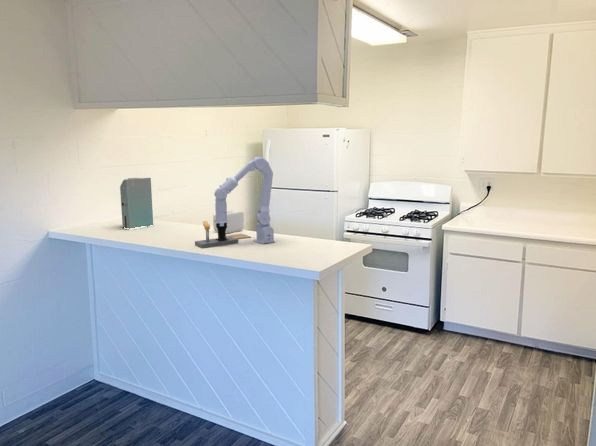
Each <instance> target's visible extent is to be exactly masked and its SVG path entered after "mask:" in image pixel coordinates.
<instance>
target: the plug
mask: <svg viewBox="0 0 596 446" xmlns="http://www.w3.org/2000/svg"><path fill="white" fill-rule="evenodd" d="M226 235H227V232H226V231H225V237H224V239H220V237H219V232H218V231H217V238H218V241H225V240H226Z"/></svg>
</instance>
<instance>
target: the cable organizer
mask: <svg viewBox="0 0 596 446" xmlns="http://www.w3.org/2000/svg"><path fill="white" fill-rule="evenodd" d="M244 217H245V215H244V212H243V211H241V210H239V211H233V210H230V209H229V210H227V220H228V221H227V222H226V223H227V228H226V234H233V233H234V232H236V233H240V232H242V231H243V229H244V227H245V224H244V223H245V219H244ZM212 218H213V219H212V220H213V221H212V222H213V231H214V232H218V229H217V227H216V223H217V222H214V220H216V212H214V213H213V215H212Z"/></svg>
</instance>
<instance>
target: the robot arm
mask: <svg viewBox="0 0 596 446" xmlns="http://www.w3.org/2000/svg"><path fill="white" fill-rule="evenodd" d="M256 170H257V171H259V173H260V174H261V175H262V182H261V184H262V186H261V194H260V200H259V201H260V202H259V207H258V210H257V213H256V215H255V220H256V221H257V223H256V226H255V228H256V230H255V231H256V239H253V242H255V243H259V244H271V243H275V242H276V241H275V240H274V239H275V237H274V236H275V235H274V233H275V232H274V228H273V227H272V226H271V216H270V212H271V211H270V201H271V195H272V194H271V193H272V187H273V176H274V171H273V169H272V168H271V165H270V163H269V161H268V160H267V159H266V158H265V157H263V156H255V157H253V159H251V160H250V161H248V162H247V163H246V164H245V165H244V166H243V167H241V169H240V170H239V171H238V172H237V173H236V174H235V175H234V176H230V177H227V178H226V179H225V181H224V182H223V183H222V184H220V185H219V187H218V188H216V189H215V190H214V197H215V200H214V202H215V211H214V212H215V213H216V220H214V222H217V223H216V227H217V229H218V231H217V233H218V232H219V237H220V239H224V237H225V231H226V228H227V223H226V222H227V221H228V220H227V211H228V210H227V209H228V208H227V207H228V206H227V205H228V204H227V197H228V194H230V193H232V191H234V190H235V189H236V188H237V186H238V185H239V181H241V180H242V179H243V178H244V177H245V176H246V175H247V174H248V173H249V172H252V171H256Z"/></svg>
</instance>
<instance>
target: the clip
mask: <svg viewBox="0 0 596 446" xmlns="http://www.w3.org/2000/svg"><path fill="white" fill-rule="evenodd" d="M202 224H203V227H204V230H206V229H209V230H210V229H211V225H210V223H208V221H207V220H204V221H203V222H202Z"/></svg>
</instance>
